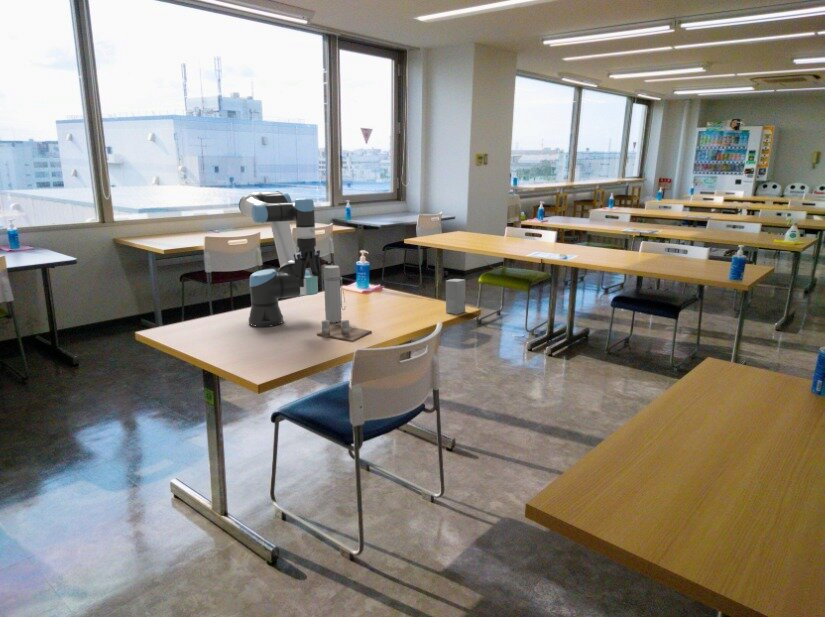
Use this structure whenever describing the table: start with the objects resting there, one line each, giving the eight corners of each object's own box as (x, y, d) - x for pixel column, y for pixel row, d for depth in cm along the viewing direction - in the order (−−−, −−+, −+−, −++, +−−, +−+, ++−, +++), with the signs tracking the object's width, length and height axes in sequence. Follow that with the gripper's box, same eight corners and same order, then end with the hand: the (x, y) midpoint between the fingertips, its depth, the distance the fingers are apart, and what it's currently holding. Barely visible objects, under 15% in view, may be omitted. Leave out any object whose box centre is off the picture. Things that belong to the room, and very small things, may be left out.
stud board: (316, 335, 231) (315, 320, 229) (337, 326, 243) (336, 312, 242) (351, 342, 222) (351, 326, 221) (371, 332, 235) (371, 318, 233)
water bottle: (326, 324, 247) (324, 268, 241) (324, 319, 255) (322, 265, 248) (347, 322, 250) (345, 267, 243) (344, 317, 257) (342, 264, 250)
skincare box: (456, 315, 261) (457, 282, 257) (444, 312, 265) (444, 280, 261) (466, 311, 268) (467, 279, 264) (453, 309, 272) (454, 277, 268)
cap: (298, 294, 230) (297, 277, 228) (308, 291, 235) (307, 275, 233) (310, 295, 227) (309, 278, 225) (320, 292, 232) (319, 276, 230)
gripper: (297, 240, 215) (300, 298, 221) (328, 235, 231) (331, 289, 237) (282, 239, 219) (286, 296, 225) (314, 234, 235) (317, 287, 241)
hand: (309, 292), depth 231 cm, fingers closed on cap, 6 cm apart
